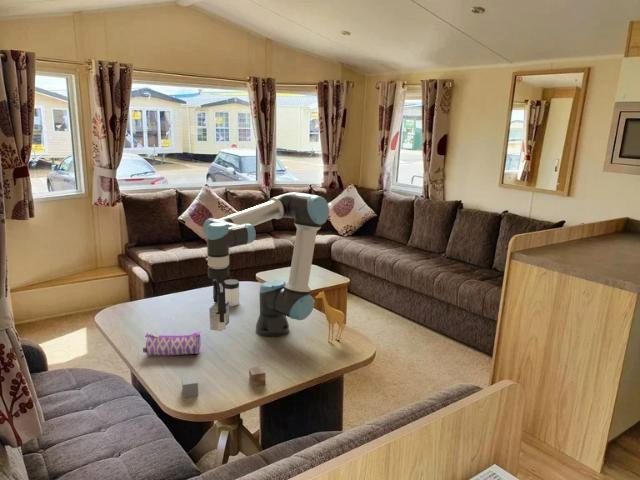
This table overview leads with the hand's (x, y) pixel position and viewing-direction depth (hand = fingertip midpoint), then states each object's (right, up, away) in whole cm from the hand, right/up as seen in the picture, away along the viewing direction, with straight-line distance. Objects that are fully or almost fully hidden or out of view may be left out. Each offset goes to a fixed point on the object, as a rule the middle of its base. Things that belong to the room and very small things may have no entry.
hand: (219, 324), depth 176 cm
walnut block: (+14, -22, 0) cm, 26 cm away
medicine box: (0, -1, 0) cm, 1 cm away
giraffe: (+41, -14, +33) cm, 55 cm away
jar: (-9, -2, +73) cm, 74 cm away
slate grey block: (-9, -23, -8) cm, 26 cm away
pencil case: (-23, -16, +19) cm, 34 cm away
